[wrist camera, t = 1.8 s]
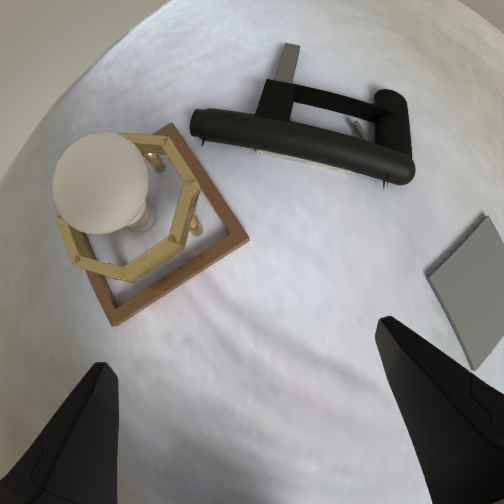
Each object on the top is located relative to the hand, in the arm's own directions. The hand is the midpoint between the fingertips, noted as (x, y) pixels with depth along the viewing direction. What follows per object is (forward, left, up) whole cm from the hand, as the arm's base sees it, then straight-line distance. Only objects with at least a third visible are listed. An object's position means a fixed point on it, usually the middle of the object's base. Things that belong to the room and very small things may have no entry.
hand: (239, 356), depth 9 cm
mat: (+20, -11, -13) cm, 27 cm away
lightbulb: (-3, +12, -14) cm, 19 cm away
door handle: (+16, +14, -14) cm, 25 cm away
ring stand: (-3, +12, -13) cm, 18 cm away
